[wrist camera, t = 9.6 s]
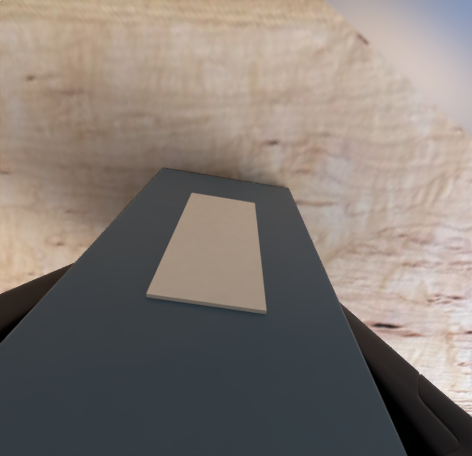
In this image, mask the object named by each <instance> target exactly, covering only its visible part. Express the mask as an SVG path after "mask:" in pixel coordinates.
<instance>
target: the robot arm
mask: <svg viewBox="0 0 472 456" xmlns="http://www.w3.org/2000/svg"><path fill="white" fill-rule="evenodd" d="M73 264H74V263H73ZM73 264H70V265H68V266H66V267H63V268H61V269H58V270H56V271H54V272H51V273H49V274H47V275H44V276H42V277H40V278H37V279H35V280H32V281H30V282H28V283H25V284H23V285H21V286H18V287H16V288H13V289H11V290H9V291H6V292H4V293H2V294H0V343H1V342H2V341H3V340H4V339H5V338H6V337H7V336H8V335H9V334H10V332H11V331H12V330H13V329H14V328H15V327H16V326H17V325H18V324H19V323H20V322H21V321H22V319H23V318H24V317H25V316H26V315H27V314H28V313H29V312H30V311H31V310H32V309H33V308H34V306H35V305H36V304H37V303H38V302H39V301H40V300H41V299H42V298H43V297H44V296H45V295H46V293H47V292H48V291H49V290H50V289H51V288H52V287H53V286H54V285H55V284H56V283H57V282H58V280H59V279H60V278H61V277H62V276H63V275H64V274H65V273H66V272H67V271H68V270H69V269H70V267H71V266H72V265H73ZM339 303H340V302H339ZM340 305H341V307H342V309H343V312H344V314H345V316H346V319H347V321H348V323H349V325H350V328H351V330H352V332H353V334H354V337H355V339H356V341H357V343H358V346H359V348H360V350H361V352H362V355H363V357H364V359H365V361H366V364H367V366H368V368H369V370H370V373H371V375H372V377H373V379H374V382H375V384H376V386H377V388H378V391H379V393H380V395H381V397H382V400H383V402H384V404H385V406H386V409H387V411H388V413H389V415H390V418H391V420H392V422H393V424H394V427H395V429H396V431H397V433H398V436H399V438H400V440H401V442H402V445H403V447H404V449H405V451H406V454H407V456H472V417H471V416H470V415H469V414H468V413H467V412H465V411H464V410H463V409H462V408H460V407H459V406H458V405H457V404H455V403H454V402H453V401H452V400H451V399H449V398H448V397H447V396H446V395H445V394H444V393H442V392H441V391H440V390H439V389H438V388H437V387H435V386H434V385H433V384H432V383H431V382H430V381H429V380H427V379H426V378H425V377H424V376H423V375H421V374H420V375H419V372H418V371H417V370H416V369H415V368H414V367H413V366H411V365H410V364H409V363H408V362H407V361H406V360H405V359H403V358H402V357H401V356H400V355H399V354H398V353H397V352H396V351H394V350H393V349H392V348H391V347H390V346H389V345H388V344H386V343H385V342H384V341H383V340H382V339H381V338H380V337H378V336H377V335H376V334H375V333H374V332H373V331H372V330H371V329H369V328H368V327H367V326H366V325H365V324H364V323H363V322H361V321H360V320H359V319H358V318H357V317H356V316H355V315H354V314H352V313H351V312H350V311H349V310H348V309H347V308H346V307H344V306H343V305H342V304H341V303H340Z"/></svg>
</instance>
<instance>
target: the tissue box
mask: <svg viewBox="0 0 472 456" xmlns="http://www.w3.org/2000/svg"><path fill="white" fill-rule="evenodd" d="M0 456H407V454H406V451H405V449H404V447H403V445H402V442H401V440H400V438H399V436H398V433H397V431H396V429H395V427H394V424H393V422H392V420H391V418H390V415H389V413H388V411H387V409H386V406H385V404H384V402H383V400H382V397H381V395H380V393H379V391H378V388H377V386H376V384H375V382H374V379H373V377H372V375H371V373H370V370H369V368H368V366H367V364H366V361H365V359H364V357H363V355H362V352H361V350H360V348H359V346H358V343H357V341H356V339H355V337H354V334H353V332H352V330H351V328H350V325H349V323H348V321H347V319H346V316H345V314H344V312H343V309H342V307H341V305H340V303H339V300H338V298H337V296H336V294H335V291H334V289H333V287H332V285H331V282H330V280H329V278H328V276H327V273H326V271H325V269H324V267H323V264H322V262H321V260H320V258H319V255H318V253H317V251H316V249H315V246H314V244H313V242H312V240H311V237H310V235H309V233H308V231H307V228H306V226H305V224H304V222H303V219H302V217H301V215H300V213H299V210H298V208H297V206H296V204H295V201H294V199H293V197H292V195H291V192H290V190H289V189H288V188H282V187H276V186H270V185H264V184H258V183H252V182H246V181H240V180H234V179H228V178H222V177H216V176H210V175H204V174H198V173H192V172H186V171H180V170H174V169H168V168H162V169H161V170H160V171H159V172H158V173H157V174H156V175H155V177H154V178H153V179H152V180H151V181H150V182H149V183H148V184H147V185H146V186H145V187H144V188H143V190H142V191H141V192H140V193H139V194H138V195H137V196H136V197H135V198H134V199H133V200H132V201H131V203H130V204H129V205H128V206H127V207H126V208H125V209H124V210H123V211H122V212H121V213H120V214H119V215H118V217H117V218H116V219H115V220H114V221H113V222H112V223H111V224H110V225H109V226H108V227H107V228H106V230H105V231H104V232H103V233H102V234H101V235H100V236H99V237H98V238H97V239H96V240H95V241H94V243H93V244H92V245H91V246H90V247H89V248H88V249H87V250H86V251H85V252H84V253H83V254H82V256H81V257H80V258H79V259H78V260H77V261H76V262H75V263H74V264H73V265H72V266H71V267H70V269H69V270H68V271H67V272H66V273H65V274H64V275H63V276H62V277H61V278H60V279H59V280H58V282H57V283H56V284H55V285H54V286H53V287H52V288H51V289H50V290H49V291H48V292H47V293H46V295H45V296H44V297H43V298H42V299H41V300H40V301H39V302H38V303H37V304H36V305H35V306H34V308H33V309H32V310H31V311H30V312H29V313H28V314H27V315H26V316H25V317H24V318H23V319H22V321H21V322H20V323H19V324H18V325H17V326H16V327H15V328H14V329H13V330H12V331H11V332H10V334H9V335H8V336H7V337H6V338H5V339H4V340H3V341H2V342H1V343H0Z"/></svg>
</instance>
